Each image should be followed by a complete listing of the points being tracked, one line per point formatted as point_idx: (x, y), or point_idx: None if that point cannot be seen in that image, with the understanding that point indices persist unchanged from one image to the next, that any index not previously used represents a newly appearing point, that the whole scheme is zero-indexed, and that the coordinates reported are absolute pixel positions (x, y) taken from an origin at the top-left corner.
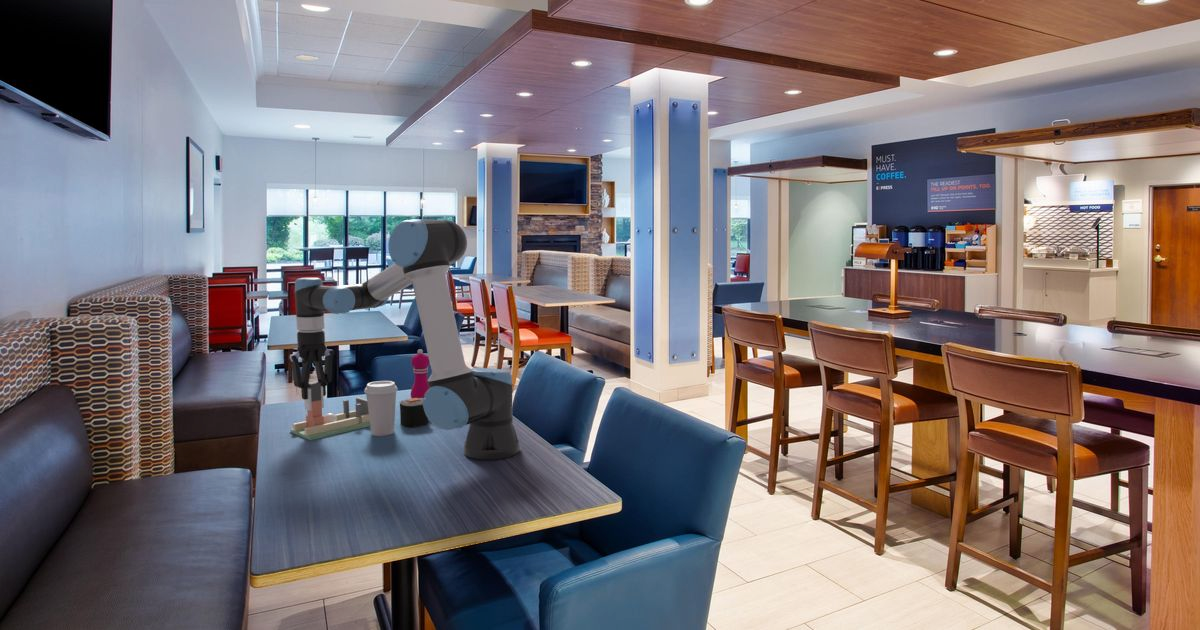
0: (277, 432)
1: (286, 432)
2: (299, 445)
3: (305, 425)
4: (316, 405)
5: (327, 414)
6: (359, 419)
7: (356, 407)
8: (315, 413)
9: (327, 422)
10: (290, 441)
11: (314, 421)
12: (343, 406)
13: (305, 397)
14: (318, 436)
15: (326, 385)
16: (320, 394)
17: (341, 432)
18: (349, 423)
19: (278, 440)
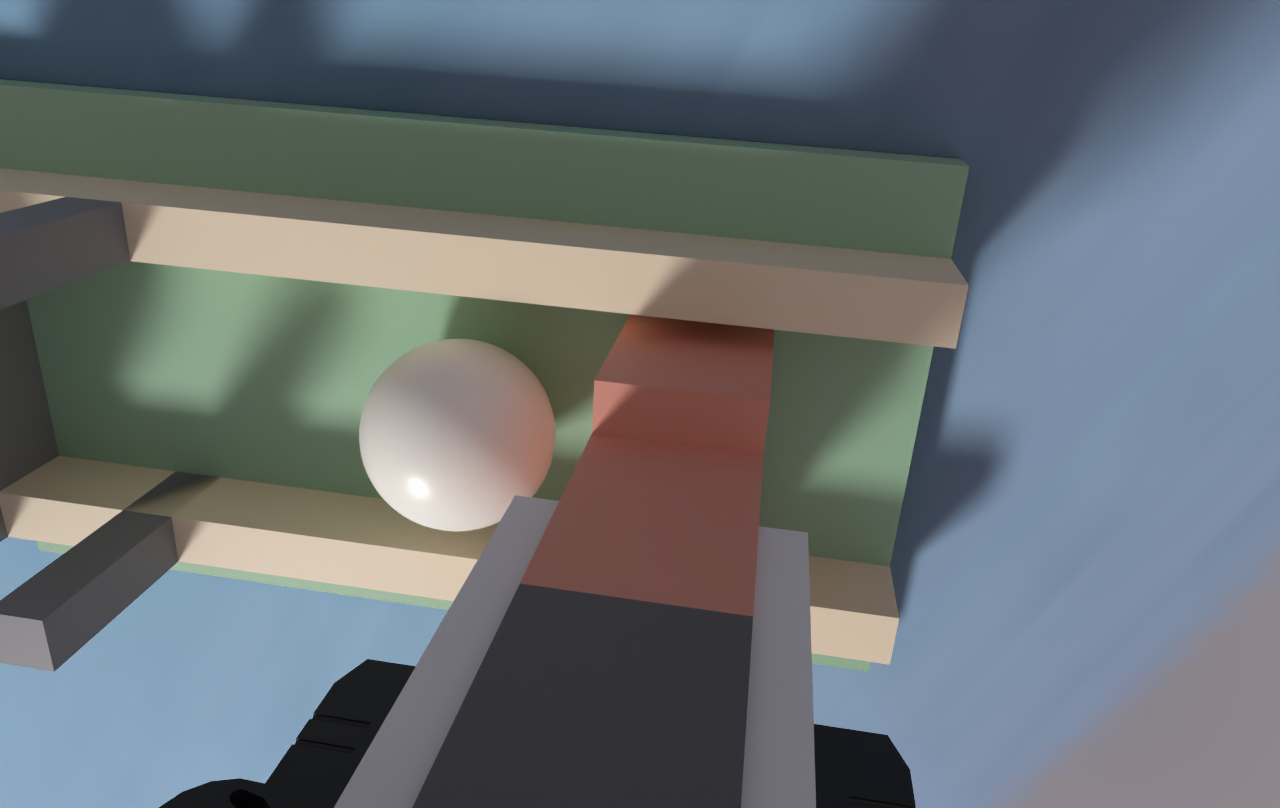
0: (948, 749)
1: (891, 677)
2: (1219, 61)
3: None
4: (655, 546)
5: (469, 470)
6: (122, 194)
7: (8, 274)
8: (703, 471)
9: (533, 382)
10: (1133, 339)
11: (768, 379)
12: (120, 610)
13: (873, 767)
14: (833, 153)
15: (213, 788)
16: (496, 671)
17: (487, 122)
18: (290, 203)
19: (1177, 497)
